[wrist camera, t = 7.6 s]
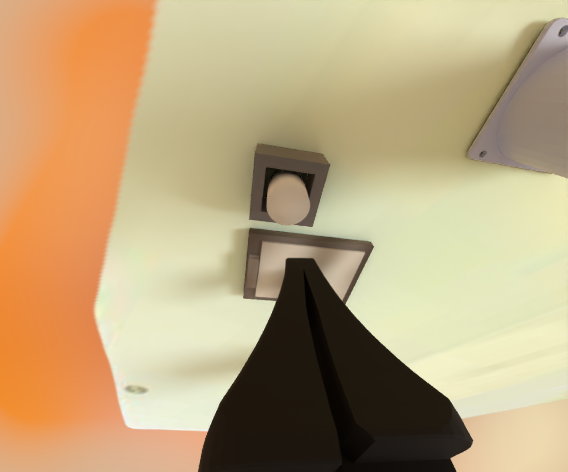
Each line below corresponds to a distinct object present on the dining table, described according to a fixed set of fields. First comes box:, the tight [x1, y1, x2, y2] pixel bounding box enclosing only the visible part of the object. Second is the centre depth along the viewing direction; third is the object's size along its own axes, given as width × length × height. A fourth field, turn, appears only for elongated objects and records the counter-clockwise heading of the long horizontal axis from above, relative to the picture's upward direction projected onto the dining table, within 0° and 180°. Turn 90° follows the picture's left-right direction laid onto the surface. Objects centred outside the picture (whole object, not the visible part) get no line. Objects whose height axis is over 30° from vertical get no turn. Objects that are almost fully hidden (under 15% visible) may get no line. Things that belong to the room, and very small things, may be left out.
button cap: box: [267, 170, 310, 225], centre depth 15 cm, size 3×3×3 cm
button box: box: [249, 144, 330, 227], centre depth 17 cm, size 5×5×3 cm
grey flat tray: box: [243, 228, 374, 304], centre depth 23 cm, size 12×9×1 cm
